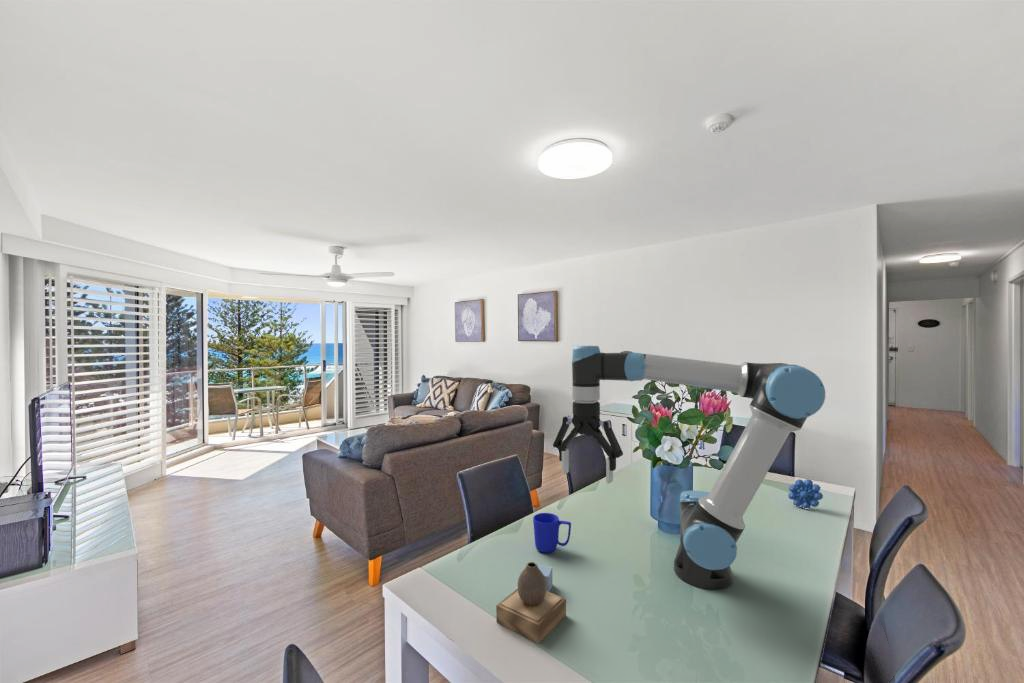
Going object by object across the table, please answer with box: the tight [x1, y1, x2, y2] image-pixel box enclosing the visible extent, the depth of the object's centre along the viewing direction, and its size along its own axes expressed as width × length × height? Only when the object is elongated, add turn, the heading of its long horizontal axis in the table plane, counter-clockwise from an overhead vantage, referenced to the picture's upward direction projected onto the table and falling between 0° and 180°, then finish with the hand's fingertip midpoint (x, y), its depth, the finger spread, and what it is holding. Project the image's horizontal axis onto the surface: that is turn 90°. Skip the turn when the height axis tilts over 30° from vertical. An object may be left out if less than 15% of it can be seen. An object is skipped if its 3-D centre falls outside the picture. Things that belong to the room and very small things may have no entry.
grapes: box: [787, 478, 824, 509], centre depth 169 cm, size 12×7×12 cm, turn 41°
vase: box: [517, 561, 546, 606], centre depth 103 cm, size 7×7×9 cm
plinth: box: [495, 588, 567, 644], centre depth 103 cm, size 12×12×4 cm
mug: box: [532, 512, 572, 554], centre depth 137 cm, size 8×12×10 cm
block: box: [537, 564, 554, 593], centre depth 115 cm, size 5×5×5 cm
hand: (586, 477), depth 119 cm, fingers open, 13 cm apart
